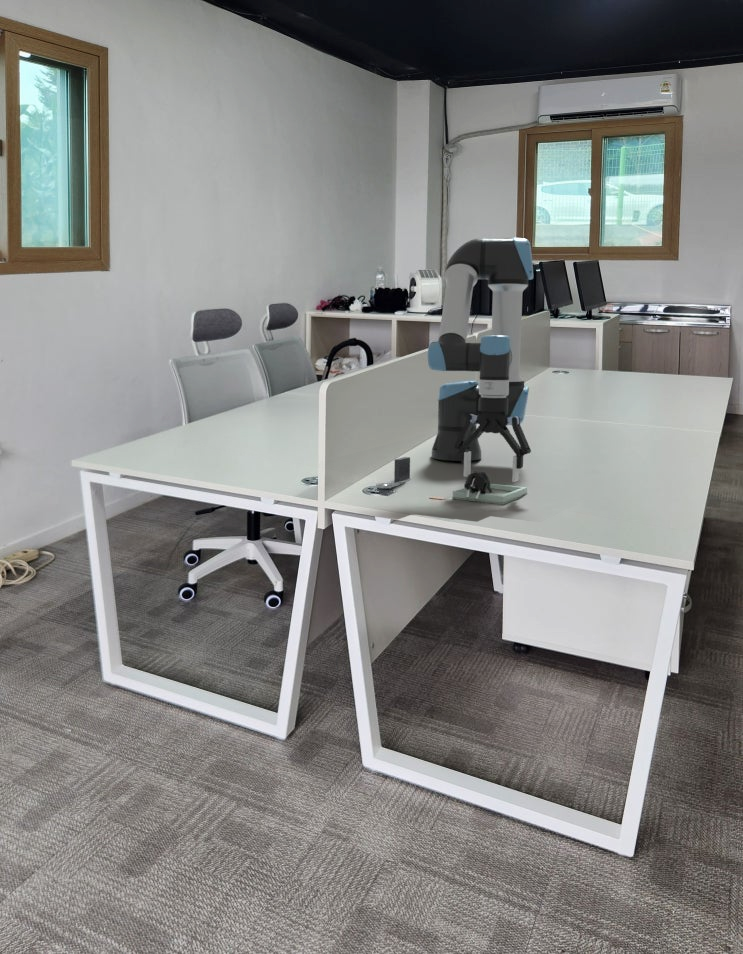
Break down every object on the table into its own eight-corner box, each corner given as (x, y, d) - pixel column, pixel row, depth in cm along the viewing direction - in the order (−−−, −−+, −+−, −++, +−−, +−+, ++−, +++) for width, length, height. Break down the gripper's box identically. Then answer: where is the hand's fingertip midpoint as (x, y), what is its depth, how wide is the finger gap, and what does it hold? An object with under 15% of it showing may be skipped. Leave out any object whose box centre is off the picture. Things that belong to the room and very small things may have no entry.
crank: (386, 489, 225) (386, 464, 224) (373, 488, 228) (373, 462, 226) (413, 482, 238) (414, 457, 237) (401, 480, 240) (401, 456, 239)
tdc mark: (431, 497, 222) (431, 496, 222) (445, 499, 220) (445, 498, 220) (429, 498, 221) (429, 497, 221) (443, 500, 219) (443, 499, 219)
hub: (378, 489, 233) (379, 486, 233) (401, 492, 230) (401, 488, 229) (365, 493, 227) (365, 489, 227) (388, 495, 224) (388, 492, 224)
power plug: (501, 490, 224) (487, 468, 215) (493, 516, 221) (478, 495, 212) (481, 487, 227) (466, 465, 218) (473, 513, 224) (457, 492, 215)
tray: (478, 489, 234) (478, 482, 234) (527, 494, 227) (527, 487, 227) (452, 498, 221) (452, 490, 221) (503, 504, 214) (503, 496, 213)
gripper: (443, 395, 223) (441, 476, 226) (534, 399, 210) (531, 485, 214) (455, 393, 229) (453, 472, 233) (545, 397, 217) (542, 481, 220)
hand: (490, 478), depth 223 cm, fingers open, 13 cm apart
